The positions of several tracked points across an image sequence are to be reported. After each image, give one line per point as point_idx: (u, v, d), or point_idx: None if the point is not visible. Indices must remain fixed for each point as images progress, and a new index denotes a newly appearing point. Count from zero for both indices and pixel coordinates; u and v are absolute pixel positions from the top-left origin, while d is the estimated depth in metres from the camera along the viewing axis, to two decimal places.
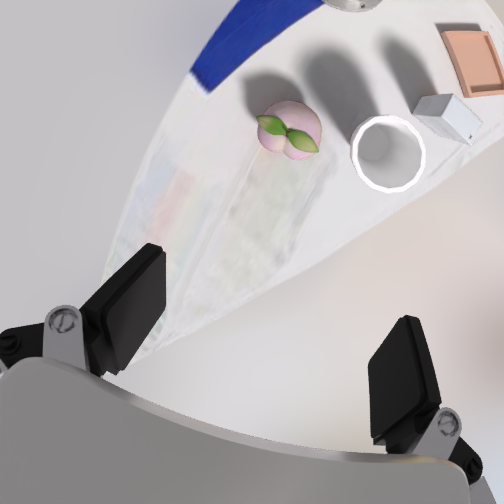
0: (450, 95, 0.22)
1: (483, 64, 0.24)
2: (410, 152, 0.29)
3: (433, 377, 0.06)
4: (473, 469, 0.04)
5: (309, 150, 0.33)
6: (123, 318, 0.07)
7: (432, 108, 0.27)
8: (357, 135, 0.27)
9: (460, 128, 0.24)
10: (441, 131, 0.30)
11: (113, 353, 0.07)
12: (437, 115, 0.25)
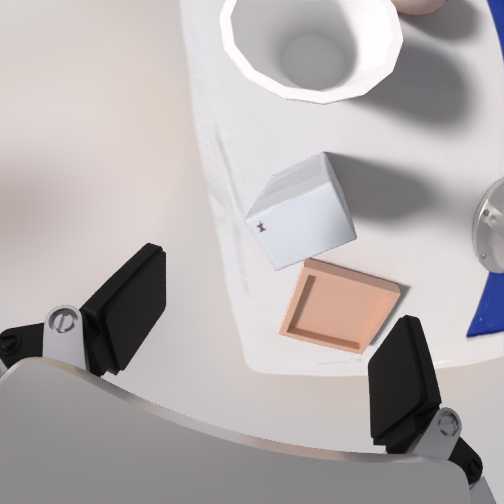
0: (354, 230, 0.16)
1: (331, 317, 0.33)
2: (283, 81, 0.14)
3: (433, 377, 0.06)
4: (473, 469, 0.04)
5: None
6: (123, 318, 0.07)
7: (336, 183, 0.18)
8: None
9: (287, 212, 0.16)
10: (283, 179, 0.22)
11: (113, 353, 0.07)
12: (330, 176, 0.16)
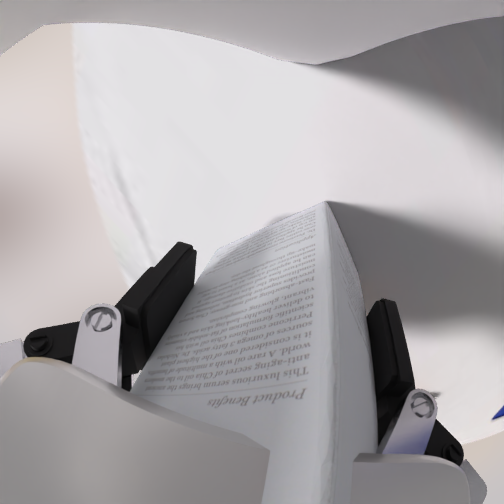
0: None
1: None
2: None
3: (406, 357, 0.07)
4: (452, 455, 0.04)
5: None
6: (160, 315, 0.08)
7: (357, 372, 0.05)
8: None
9: None
10: (215, 302, 0.09)
11: (148, 350, 0.08)
12: (331, 483, 0.02)
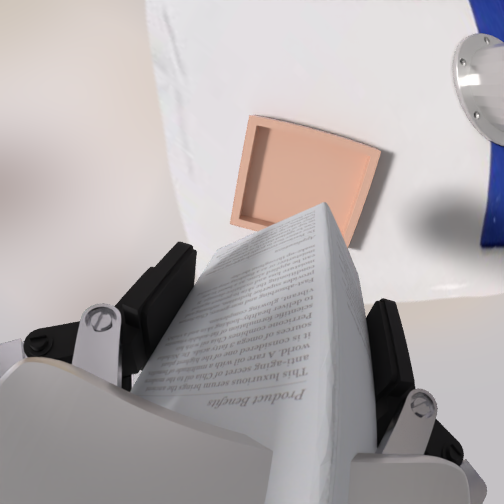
0: None
1: (295, 196, 0.26)
2: None
3: (406, 357, 0.07)
4: (452, 455, 0.04)
5: None
6: (160, 315, 0.08)
7: (356, 373, 0.05)
8: None
9: None
10: (215, 303, 0.09)
11: (148, 350, 0.08)
12: (330, 483, 0.02)
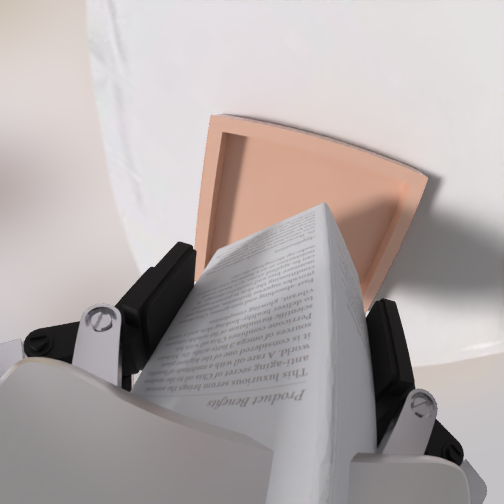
0: None
1: None
2: None
3: (406, 357, 0.07)
4: (452, 455, 0.04)
5: None
6: (160, 315, 0.08)
7: (356, 373, 0.05)
8: None
9: None
10: (215, 303, 0.09)
11: (148, 350, 0.08)
12: (330, 484, 0.02)
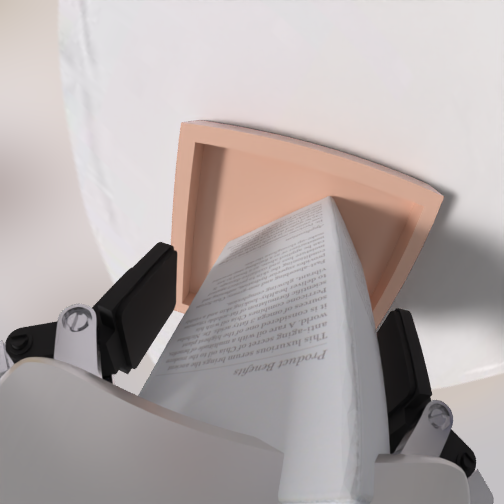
0: None
1: None
2: None
3: (423, 369, 0.06)
4: (466, 463, 0.04)
5: None
6: (137, 316, 0.08)
7: (367, 343, 0.06)
8: None
9: None
10: (231, 287, 0.09)
11: (126, 351, 0.08)
12: (358, 428, 0.03)
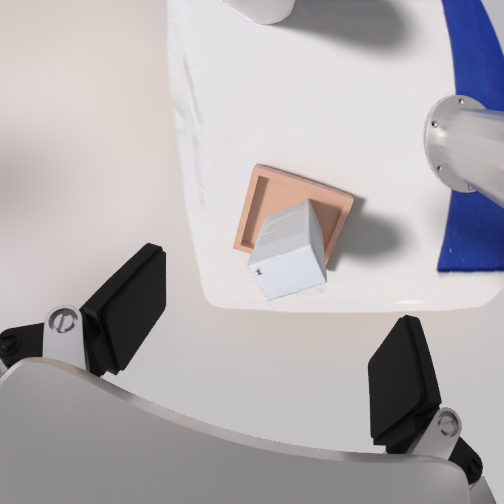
0: (325, 276, 0.23)
1: None
2: None
3: (433, 377, 0.06)
4: (473, 469, 0.04)
5: None
6: (123, 318, 0.07)
7: (315, 236, 0.26)
8: None
9: (278, 263, 0.23)
10: (275, 226, 0.29)
11: (113, 353, 0.07)
12: (310, 237, 0.23)
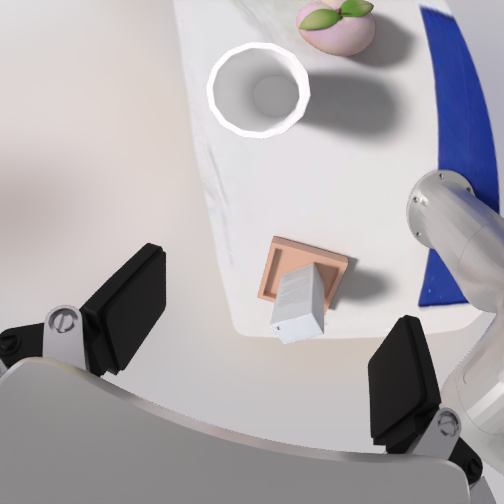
0: (323, 329, 0.34)
1: None
2: (246, 121, 0.26)
3: (433, 377, 0.06)
4: (473, 469, 0.04)
5: (306, 19, 0.20)
6: (123, 318, 0.07)
7: (317, 299, 0.36)
8: (298, 63, 0.19)
9: (291, 323, 0.33)
10: (288, 289, 0.39)
11: (113, 353, 0.07)
12: (312, 306, 0.33)
